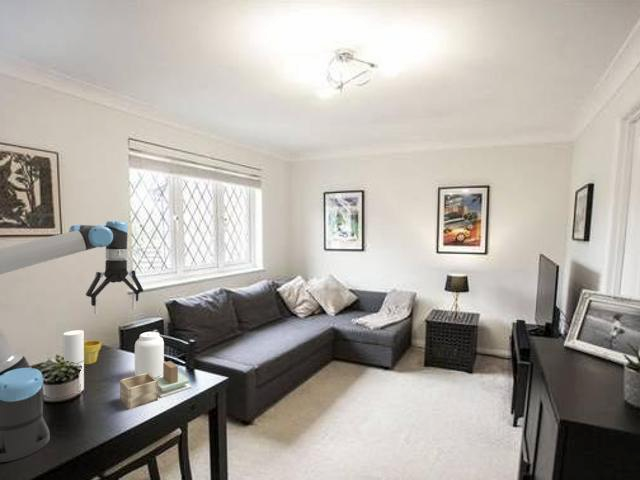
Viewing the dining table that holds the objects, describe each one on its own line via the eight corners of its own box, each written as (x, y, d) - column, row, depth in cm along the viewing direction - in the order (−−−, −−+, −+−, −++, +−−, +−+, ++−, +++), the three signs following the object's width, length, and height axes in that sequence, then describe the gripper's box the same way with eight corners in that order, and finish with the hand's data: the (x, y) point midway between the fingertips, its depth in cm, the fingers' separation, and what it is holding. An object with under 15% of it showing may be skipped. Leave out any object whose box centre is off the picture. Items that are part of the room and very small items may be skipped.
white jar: (148, 368, 173) (148, 328, 172) (169, 371, 170) (169, 331, 169) (128, 378, 161) (128, 336, 160) (150, 382, 158) (150, 338, 157)
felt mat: (160, 398, 144) (160, 396, 144) (149, 387, 153) (149, 385, 153) (191, 388, 153) (191, 386, 153) (178, 378, 162) (178, 377, 162)
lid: (162, 395, 144) (162, 372, 144) (151, 385, 152) (151, 364, 152) (189, 386, 153) (189, 364, 153) (177, 378, 161) (177, 357, 161)
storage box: (128, 409, 134) (128, 389, 134) (119, 399, 142) (119, 380, 142) (157, 400, 142) (158, 380, 142) (148, 390, 150) (148, 372, 149)
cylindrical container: (73, 395, 144) (73, 335, 144) (59, 393, 146) (58, 334, 145) (87, 387, 151) (87, 330, 150) (74, 385, 153) (74, 329, 152)
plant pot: (105, 358, 184) (105, 340, 184) (91, 366, 174) (91, 347, 174) (87, 357, 185) (87, 339, 185) (71, 365, 175) (71, 346, 175)
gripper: (81, 261, 129) (80, 317, 130) (152, 259, 147) (151, 308, 147) (77, 259, 135) (76, 313, 135) (145, 257, 152) (145, 305, 153)
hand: (115, 311), depth 141 cm, fingers open, 13 cm apart
